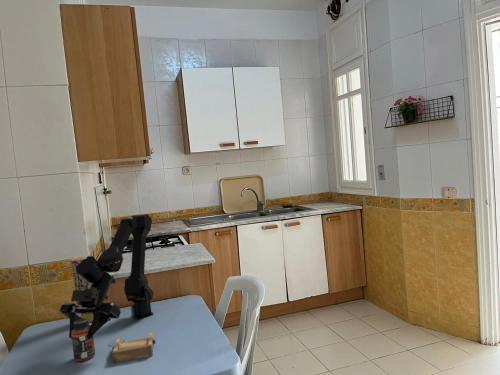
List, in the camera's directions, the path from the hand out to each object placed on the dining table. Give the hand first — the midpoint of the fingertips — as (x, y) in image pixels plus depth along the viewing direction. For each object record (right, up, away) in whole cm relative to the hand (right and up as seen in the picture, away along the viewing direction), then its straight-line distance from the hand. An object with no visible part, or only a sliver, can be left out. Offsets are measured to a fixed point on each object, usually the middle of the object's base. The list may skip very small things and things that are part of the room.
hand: (79, 338), depth 113 cm
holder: (+16, -5, +2) cm, 17 cm away
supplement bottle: (+1, -7, +2) cm, 7 cm away
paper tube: (-12, -7, +34) cm, 37 cm away
